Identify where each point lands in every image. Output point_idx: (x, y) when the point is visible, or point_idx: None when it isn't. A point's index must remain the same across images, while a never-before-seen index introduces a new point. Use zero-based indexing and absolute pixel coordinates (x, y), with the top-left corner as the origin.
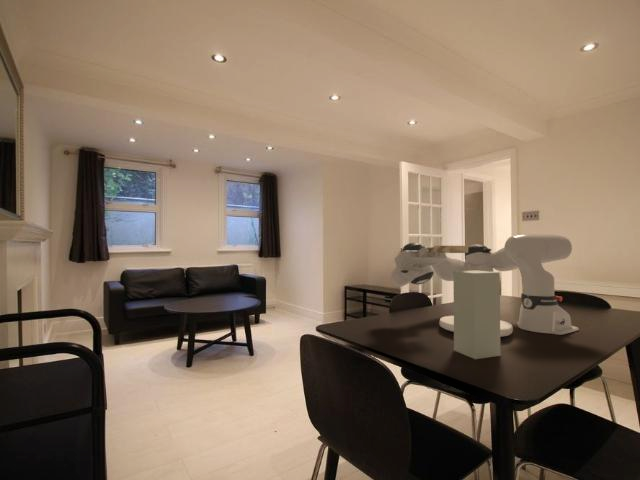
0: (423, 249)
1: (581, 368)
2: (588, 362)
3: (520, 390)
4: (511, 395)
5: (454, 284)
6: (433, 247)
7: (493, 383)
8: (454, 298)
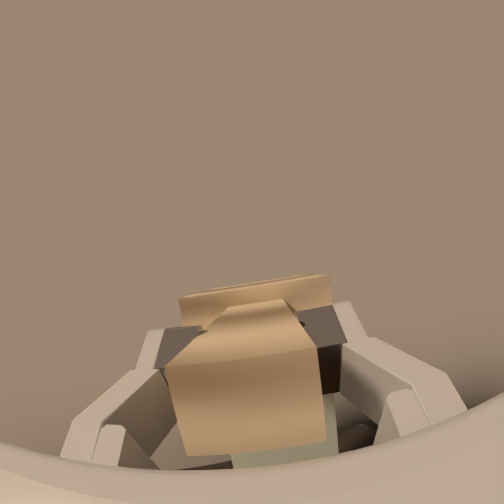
0: (369, 348)
1: (195, 467)
2: None
3: (342, 436)
4: (361, 428)
5: (334, 409)
6: (288, 307)
7: (363, 445)
8: (337, 448)
